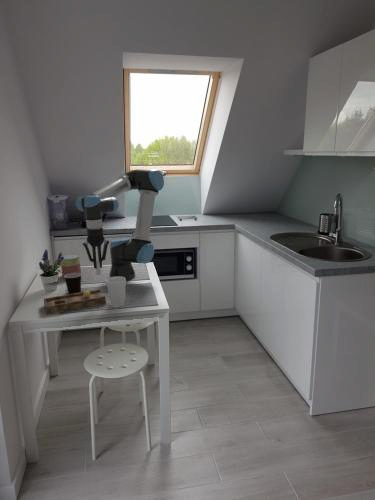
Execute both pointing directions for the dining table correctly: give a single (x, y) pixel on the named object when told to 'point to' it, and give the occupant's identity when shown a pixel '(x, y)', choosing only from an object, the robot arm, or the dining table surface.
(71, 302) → the tray
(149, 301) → the dining table surface
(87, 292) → the ball
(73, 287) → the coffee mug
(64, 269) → the canned food
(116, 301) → the foam cup
